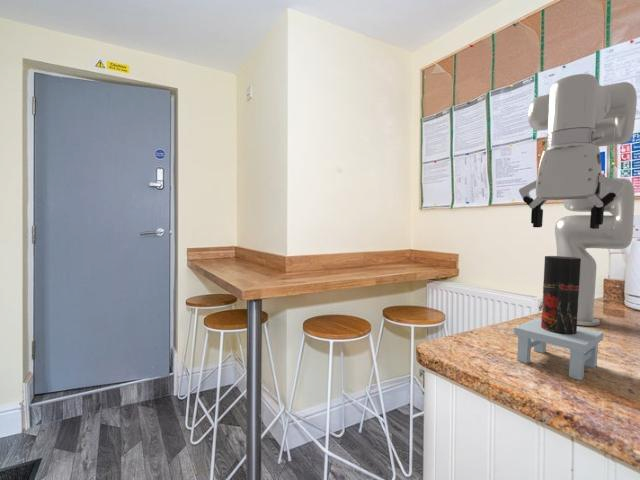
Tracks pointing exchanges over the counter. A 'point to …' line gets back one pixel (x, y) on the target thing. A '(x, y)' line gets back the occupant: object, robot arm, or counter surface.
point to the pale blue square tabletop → (579, 344)
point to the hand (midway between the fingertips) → (564, 227)
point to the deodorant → (560, 294)
